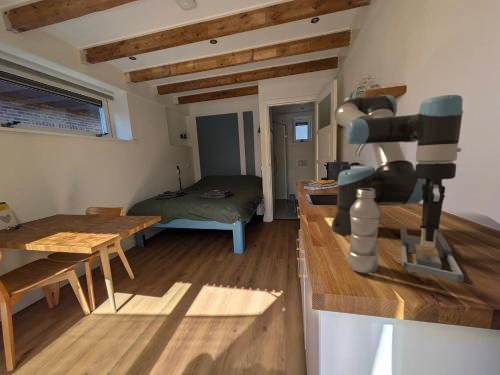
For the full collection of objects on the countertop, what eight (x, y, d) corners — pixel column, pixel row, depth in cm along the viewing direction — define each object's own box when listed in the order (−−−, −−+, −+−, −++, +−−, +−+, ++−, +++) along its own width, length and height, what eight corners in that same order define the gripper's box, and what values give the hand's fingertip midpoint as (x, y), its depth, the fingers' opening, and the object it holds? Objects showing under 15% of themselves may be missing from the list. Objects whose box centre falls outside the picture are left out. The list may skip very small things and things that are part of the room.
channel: (401, 253, 56) (401, 242, 56) (399, 236, 68) (400, 226, 68) (450, 263, 50) (451, 250, 50) (439, 242, 63) (440, 232, 62)
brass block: (415, 261, 51) (416, 250, 51) (413, 254, 54) (414, 244, 54) (437, 265, 49) (438, 254, 48) (434, 258, 52) (435, 247, 52)
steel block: (416, 268, 48) (417, 258, 47) (414, 261, 51) (415, 251, 51) (440, 273, 45) (441, 263, 45) (437, 265, 49) (438, 255, 48)
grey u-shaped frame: (402, 271, 47) (403, 262, 47) (401, 253, 56) (401, 245, 56) (462, 286, 42) (463, 275, 41) (450, 263, 50) (451, 254, 50)
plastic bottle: (341, 264, 52) (344, 188, 49) (366, 262, 52) (370, 186, 50) (357, 278, 45) (360, 192, 43) (385, 276, 46) (390, 190, 43)
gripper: (464, 163, 43) (452, 266, 46) (450, 161, 53) (441, 245, 56) (418, 163, 47) (410, 257, 50) (413, 161, 57) (407, 239, 61)
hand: (427, 251), depth 53 cm, fingers closed
